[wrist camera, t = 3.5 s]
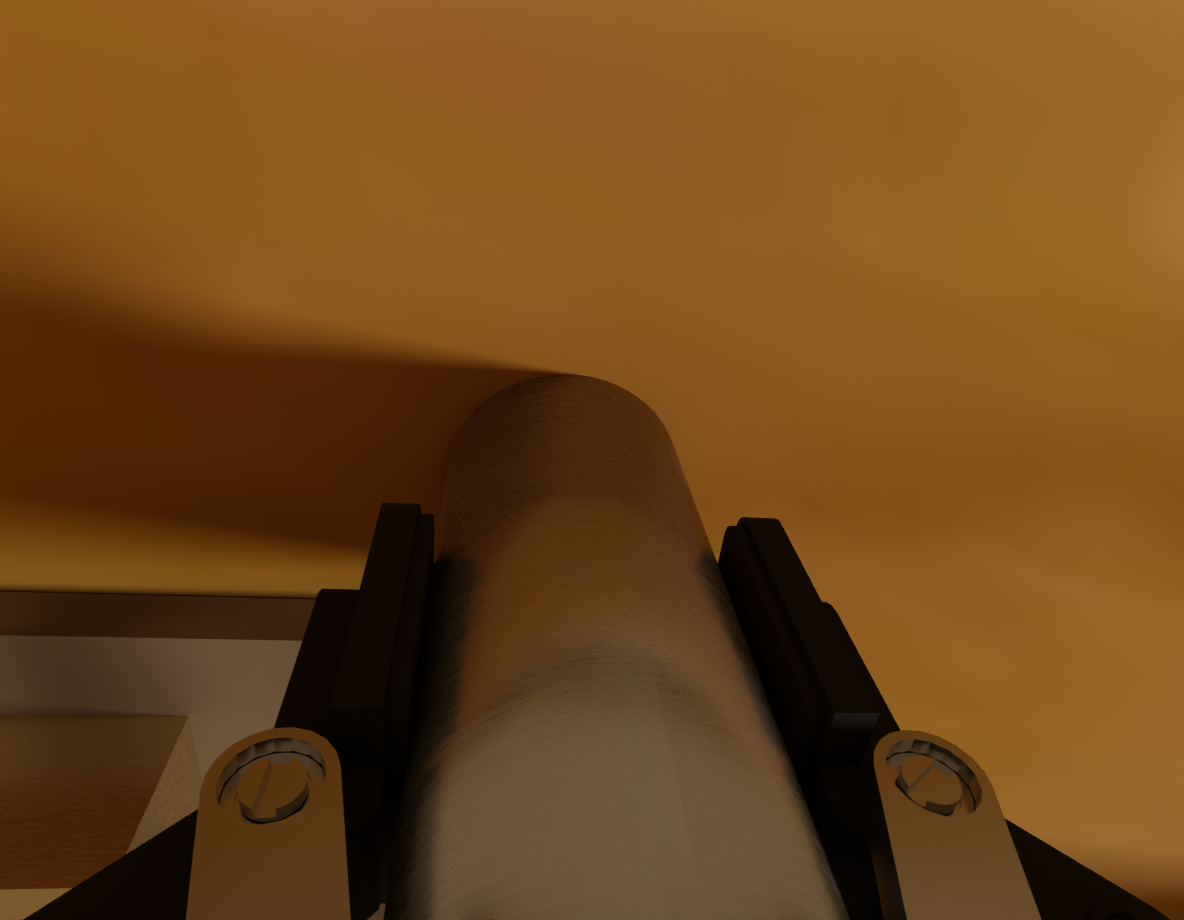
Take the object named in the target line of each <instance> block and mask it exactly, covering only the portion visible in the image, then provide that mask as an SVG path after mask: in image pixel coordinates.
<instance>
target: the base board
mask: <svg viewBox="0 0 1184 920" xmlns="http://www.w3.org/2000/svg"><path fill="white" fill-rule="evenodd" d="M315 601H316V599H279V598H238V597H198V596H157V595H117V594H77V593H36V592H0V715H133V716H189V720H190V725H191V730H192V735H193V740H194V745H195V750H196V755H197V760H198V765H199V770H200V775H201V780H202V783H203V780H204V777H205V774H206V772H207V771H208V770H209V768H210V767H211V765H212V764H213V763H214V761H215V760H216V758H217V757H218V756H220V755H221V754H222V753H223V752H224V751H226V750H227V749H228V748H229V747H230V746H231V745H233V744H234V743H236V742H238V741H240V740H242V739H244V738H246V737H248V736H250V735H252V734H254V733H258V732H261V731H265V730H269V729H272V728H274V726H275V723H276V719H277V716H278V713H279V710H280V707H281V704H282V701H283V698H284V695H285V692H286V689H287V686H288V683H289V680H290V677H291V674H292V671H293V668H294V665H295V662H296V659H297V655H298V652H299V649H300V646H301V643H302V640H303V637H304V634H305V631H306V628H307V625H308V622H309V619H310V616H311V613H312V610H313V607H314V604H315ZM384 911H385V904H380V907H379V910H378V911H377V912H375V913H374V914H373V915H372V916H371V917H370V918H369V919H367V920H383V918H384Z"/></svg>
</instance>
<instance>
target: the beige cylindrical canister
mask: <svg viewBox="0 0 1184 920" xmlns="http://www.w3.org/2000/svg"><path fill="white" fill-rule="evenodd" d="M383 920H850V918H849V915H848V913H847V910H846V907H845V905H844V902H843V899H842V897H841V894H840V891H839V888H838V886H837V883H836V880H835V878H834V875H833V872H832V870H831V867H830V864H829V862H828V859H827V856H826V854H825V851H824V848H823V846H822V843H821V840H820V837H819V835H818V832H817V829H816V827H815V824H814V821H813V819H812V816H811V813H810V811H809V808H808V805H807V803H806V800H805V797H804V795H803V792H802V789H801V787H800V784H799V781H798V778H797V776H796V773H795V770H794V768H793V765H792V762H791V760H790V757H789V754H788V752H787V749H786V746H785V744H784V741H783V738H782V736H781V733H780V730H779V727H778V725H777V722H776V719H775V717H774V714H773V711H772V709H771V706H770V703H769V701H768V698H767V695H766V693H765V690H764V687H763V685H762V682H761V679H760V677H759V674H758V671H757V668H756V666H755V663H754V660H753V658H752V655H751V652H750V650H749V647H748V644H747V642H746V639H745V636H744V634H743V631H742V628H741V626H740V623H739V620H738V618H737V615H736V612H735V609H734V607H733V604H732V601H731V599H730V596H729V593H728V591H727V588H726V585H725V583H724V580H723V577H722V575H721V572H720V569H719V567H718V564H717V561H716V558H715V556H714V553H713V550H712V548H711V545H710V542H709V540H708V537H707V534H706V532H705V529H704V526H703V524H702V521H701V518H700V516H699V513H698V510H697V508H696V505H695V502H694V499H693V497H692V494H691V491H690V489H689V486H688V483H687V481H686V478H685V475H684V473H683V470H682V467H681V465H680V462H679V459H678V457H677V454H676V451H675V448H674V446H673V443H672V440H671V438H670V435H669V433H668V432H667V430H666V428H665V426H664V424H663V423H662V421H661V420H660V419H659V418H658V416H657V415H656V414H655V412H654V411H653V410H652V409H651V408H650V407H649V406H648V405H647V404H646V403H644V402H643V401H642V400H640V399H639V398H638V397H636V396H635V395H634V394H632V393H630V392H629V391H627V390H625V389H623V388H621V387H619V386H617V385H614V384H612V383H609V382H607V381H604V380H600V379H596V378H592V377H585V376H577V375H554V376H545V377H539V378H535V379H531V380H527V381H524V382H521V383H519V384H516V385H513V386H511V387H509V388H507V389H505V390H503V391H501V392H499V393H497V394H496V395H494V396H493V397H491V398H490V399H489V400H487V401H486V402H484V403H483V404H482V405H481V406H480V407H479V408H478V409H477V410H476V411H474V412H473V413H472V415H471V416H470V417H469V418H468V419H467V421H466V422H465V423H464V424H463V426H462V427H461V429H460V431H459V432H458V434H457V436H456V437H455V440H454V442H453V444H452V447H451V449H450V453H449V457H448V461H447V466H446V473H445V480H444V487H443V494H442V502H441V509H440V516H439V523H438V530H437V538H436V545H435V552H434V567H433V574H432V581H431V589H430V596H429V603H428V610H427V618H426V625H425V632H424V640H423V647H422V654H421V661H420V669H419V676H418V683H417V690H416V698H415V705H414V712H413V720H412V727H411V734H410V741H409V749H408V756H407V763H406V771H405V778H404V781H403V785H402V789H401V796H400V803H399V810H398V818H397V825H396V832H395V839H394V846H393V854H392V861H391V868H390V875H389V882H388V889H387V897H386V904H385V911H384V918H383Z"/></svg>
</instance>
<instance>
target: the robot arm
mask: <svg viewBox="0 0 1184 920" xmlns="http://www.w3.org/2000/svg"><path fill="white" fill-rule="evenodd" d="M433 567H434V514H421V507H420V504H402V503H382V505H381V509H380V512H379V516H378V520H377V524H376V528H375V532H374V536H373V540H372V543H371V547H370V551H369V555H368V559H367V563H366V567H365V570H364V574H363V578H362V582H361V586H360V590H349V589H321V590H320V591H319V593H318V596H317V598H316V601H315V604H314V607H313V610H312V613H311V616H310V619H309V622H308V625H307V628H306V631H305V634H304V637H303V640H302V643H301V646H300V649H299V652H298V655H297V659H296V662H295V665H294V668H293V671H292V674H291V677H290V680H289V683H288V686H287V689H286V692H285V695H284V698H283V701H282V704H281V707H280V710H279V713H278V716H277V719H276V723H275V726H274V728H272V729H269V730H265V731H261V732H258V733H254V734H252V735H250V736H248V737H246V738H244V739H242V740H240V741H238V742H236V743H234V744H233V745H231V746H230V747H229V748H228V749H227V750H226V751H224V752H223V753H222V754H221V755H220V756H218V757H217V758H216V760H215V761H214V763H213V764H212V765H211V767H210V768H209V770H208V771H207V772H206V774H205V777H204V780H203V783H202V787H201V790H200V796H199V805H198V809H197V810H195V811H194V812H192V813H190V814H189V815H187V816H186V817H184V818H183V819H181V820H179V821H178V822H176V823H175V824H173V825H172V826H170V827H168V828H167V829H165V830H164V831H162V832H160V833H159V834H157V835H156V836H154V837H153V838H151V839H149V840H148V841H146V842H145V843H143V844H142V845H140V846H138V847H137V848H135V849H134V850H132V851H130V852H129V853H127V854H126V855H124V856H123V857H121V858H119V859H118V860H116V861H115V862H113V863H112V864H110V865H108V866H107V867H105V868H104V869H102V870H100V871H99V872H97V873H96V874H94V875H93V876H91V877H89V878H88V879H86V880H85V881H83V882H82V883H80V884H78V885H77V886H75V887H74V888H72V889H70V890H69V891H67V892H66V893H64V894H63V895H61V896H59V897H58V898H56V899H55V900H53V901H52V902H50V903H48V904H47V905H45V906H44V907H42V908H41V909H39V910H37V911H36V912H34V913H33V914H31V915H29V916H28V917H26V918H25V919H23V920H367V919H369V918H370V917H371V916H372V915H373V914H374V913H375V912H377V911H378V910H379V907H380V904H386V897H387V889H388V882H389V875H390V868H391V861H392V854H393V846H394V839H395V832H396V825H397V818H398V810H399V803H400V796H401V789H402V785H403V781H404V778H405V771H406V763H407V756H408V749H409V741H410V734H411V727H412V720H413V712H414V705H415V698H416V690H417V683H418V676H419V669H420V661H421V654H422V647H423V640H424V632H425V625H426V618H427V610H428V603H429V596H430V589H431V581H432V574H433ZM718 567H719V569H720V572H721V575H722V577H723V580H724V583H725V585H726V588H727V591H728V593H729V596H730V599H731V601H732V604H733V607H734V609H735V612H736V615H737V618H738V620H739V623H740V626H741V628H742V631H743V634H744V636H745V639H746V642H747V644H748V647H749V650H750V652H751V655H752V658H753V660H754V663H755V666H756V668H757V671H758V674H759V677H760V679H761V682H762V685H763V687H764V690H765V693H766V695H767V698H768V701H769V703H770V706H771V709H772V711H773V714H774V717H775V719H776V722H777V725H778V727H779V730H780V733H781V736H782V738H783V741H784V744H785V746H786V749H787V752H788V754H789V757H790V760H791V762H792V765H793V768H794V770H795V773H796V776H797V778H798V781H799V784H800V787H801V789H802V792H803V795H804V797H805V800H806V803H807V805H808V808H809V811H810V813H811V816H812V819H813V821H814V824H815V827H816V829H817V832H818V835H819V837H820V840H821V843H822V846H823V848H824V851H825V854H826V856H827V859H828V862H829V864H830V867H831V870H832V872H833V875H834V878H835V880H836V883H837V886H838V888H839V891H840V894H841V897H842V899H843V902H844V905H845V907H846V910H847V913H848V915H849V918H850V920H1170V919H1169V918H1167V917H1166V916H1164V915H1163V914H1162V913H1160V912H1159V911H1157V910H1156V909H1155V908H1153V907H1152V906H1150V905H1148V904H1147V903H1145V902H1143V901H1142V900H1140V899H1138V898H1137V897H1135V896H1133V895H1132V894H1130V893H1128V892H1127V891H1125V890H1123V889H1122V888H1120V887H1118V886H1117V885H1115V884H1113V883H1112V882H1110V881H1108V880H1107V879H1105V878H1103V877H1102V876H1100V875H1098V874H1097V873H1095V872H1093V871H1092V870H1090V869H1088V868H1087V867H1085V866H1083V865H1082V864H1080V863H1078V862H1077V861H1075V860H1073V859H1072V858H1070V857H1068V856H1067V855H1065V854H1063V853H1062V852H1060V851H1058V850H1057V849H1055V848H1053V847H1052V846H1050V845H1048V844H1047V843H1045V842H1043V841H1042V840H1040V839H1038V838H1037V837H1035V836H1033V835H1032V834H1030V833H1028V832H1027V831H1025V830H1023V829H1022V828H1020V827H1018V826H1017V825H1015V824H1013V823H1012V822H1010V821H1008V820H1007V819H1005V818H1004V816H1003V813H1002V810H1001V808H1000V805H999V802H998V799H997V797H996V794H995V791H994V789H993V786H992V784H991V783H990V781H989V779H988V777H987V775H986V773H985V772H984V770H983V769H982V768H981V767H980V766H979V765H978V764H977V763H976V762H975V760H974V759H973V758H972V757H971V756H969V755H968V754H967V753H965V752H964V751H963V750H961V749H960V748H959V747H957V746H956V745H954V744H952V743H950V742H948V741H946V740H944V739H942V738H940V737H939V736H935V735H932V734H929V733H925V732H922V731H911V730H901V731H900V729H899V727H898V725H897V723H896V721H895V720H894V718H893V716H892V714H891V712H890V710H889V708H888V707H887V705H886V703H885V701H884V699H883V697H882V695H881V694H880V692H879V690H878V688H877V686H876V684H875V682H874V681H873V679H872V677H871V675H870V673H869V671H868V669H867V668H866V666H865V664H864V662H863V660H862V658H861V656H860V655H859V653H858V651H857V649H856V647H855V645H854V643H853V642H852V640H851V638H850V636H849V634H848V632H847V630H846V629H845V627H844V625H843V623H842V621H841V619H840V617H839V615H838V614H837V612H836V610H835V609H834V608H833V606H832V605H830V604H829V603H827V602H822V601H821V599H820V597H819V595H818V594H817V592H816V590H815V588H814V586H813V584H812V582H811V580H810V578H809V576H808V574H807V573H806V571H805V569H804V567H803V565H802V563H801V561H800V559H799V557H798V555H797V553H796V551H795V550H794V548H793V546H792V544H791V542H790V540H789V538H788V536H787V534H786V532H785V530H784V528H783V527H782V525H781V523H780V522H779V520H778V519H773V518H749V517H742V518H741V519H740V520H739V521H738V523H737V526H728V527H727V529H726V531H725V534H724V539H723V543H722V548H721V552H720V556H719V561H718Z"/></svg>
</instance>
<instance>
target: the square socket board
mask: <svg viewBox="0 0 1184 920" xmlns="http://www.w3.org/2000/svg"><path fill="white" fill-rule="evenodd" d="M201 787H202V780H201V775H200V770H199V765H198V760H197V755H196V750H195V745H194V740H193V735H192V730H191V725H190V720H189V716H133V715H0V920H23V919H25V918H26V917H28V916H29V915H31V914H33V913H34V912H36V911H37V910H39V909H41V908H42V907H44V906H45V905H47V904H48V903H50V902H52V901H53V900H55V899H56V898H58V897H59V896H61V895H63V894H64V893H66V892H67V891H69V890H70V889H72V888H74V887H75V886H77V885H78V884H80V883H82V882H83V881H85V880H86V879H88V878H89V877H91V876H93V875H94V874H96V873H97V872H99V871H100V870H102V869H104V868H105V867H107V866H108V865H110V864H112V863H113V862H115V861H116V860H118V859H119V858H121V857H123V856H124V855H126V854H127V853H129V852H130V851H132V850H134V849H135V848H137V847H138V846H140V845H142V844H143V843H145V842H146V841H148V840H149V839H151V838H153V837H154V836H156V835H157V834H159V833H160V832H162V831H164V830H165V829H167V828H168V827H170V826H172V825H173V824H175V823H176V822H178V821H179V820H181V819H183V818H184V817H186V816H187V815H189V814H190V813H192V812H194V811H195V810H197V809H198V805H199V796H200V790H201Z"/></svg>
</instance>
